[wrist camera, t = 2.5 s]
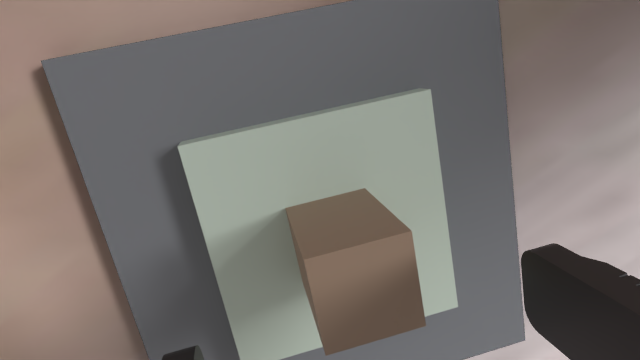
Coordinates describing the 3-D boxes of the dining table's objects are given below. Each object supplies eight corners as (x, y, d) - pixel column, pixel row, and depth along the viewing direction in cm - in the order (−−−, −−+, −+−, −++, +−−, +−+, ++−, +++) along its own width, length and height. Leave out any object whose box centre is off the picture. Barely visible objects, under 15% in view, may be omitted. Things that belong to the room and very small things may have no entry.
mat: (487, -24, 17) (496, -27, 16) (517, 332, 21) (525, 340, 20) (48, 61, 15) (40, 60, 14) (182, 436, 19) (181, 447, 18)
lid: (419, 88, 17) (504, 96, 11) (446, 295, 19) (527, 380, 14) (180, 141, 15) (152, 178, 10) (243, 354, 18) (245, 472, 13)
